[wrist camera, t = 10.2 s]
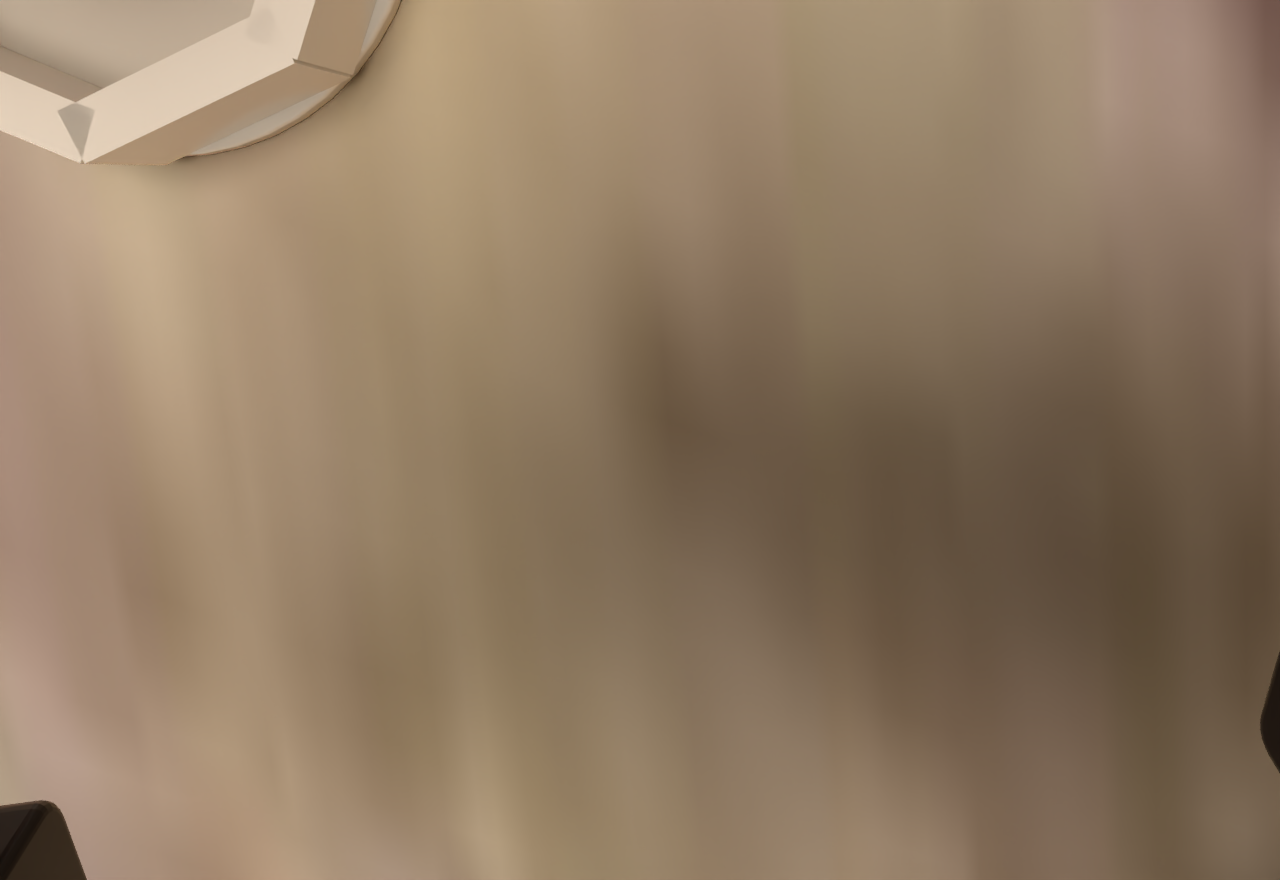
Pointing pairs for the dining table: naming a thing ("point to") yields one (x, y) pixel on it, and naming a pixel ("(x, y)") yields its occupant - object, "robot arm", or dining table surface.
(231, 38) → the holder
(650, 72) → the dining table surface
